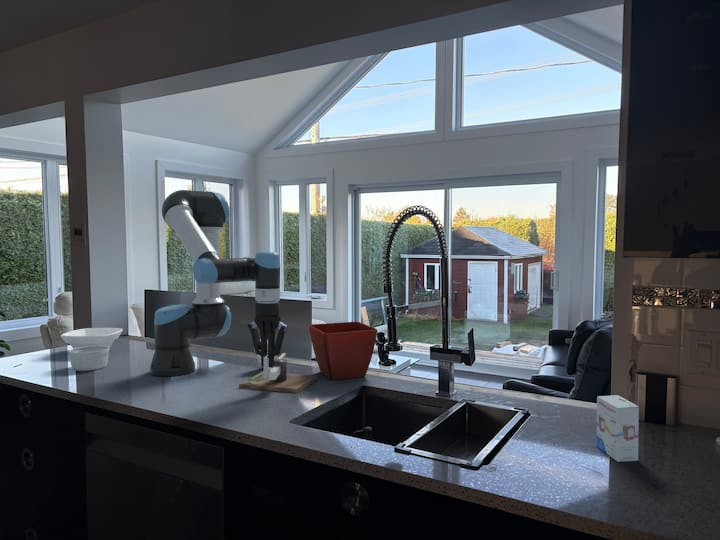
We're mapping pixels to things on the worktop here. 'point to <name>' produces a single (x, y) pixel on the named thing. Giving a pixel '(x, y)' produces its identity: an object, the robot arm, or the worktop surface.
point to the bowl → (91, 337)
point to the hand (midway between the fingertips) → (267, 377)
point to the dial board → (279, 383)
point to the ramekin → (89, 357)
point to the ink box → (617, 427)
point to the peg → (279, 369)
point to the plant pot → (343, 348)
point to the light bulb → (260, 356)
